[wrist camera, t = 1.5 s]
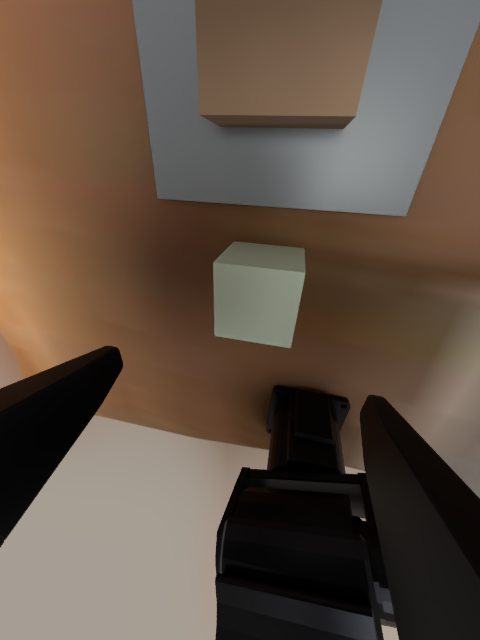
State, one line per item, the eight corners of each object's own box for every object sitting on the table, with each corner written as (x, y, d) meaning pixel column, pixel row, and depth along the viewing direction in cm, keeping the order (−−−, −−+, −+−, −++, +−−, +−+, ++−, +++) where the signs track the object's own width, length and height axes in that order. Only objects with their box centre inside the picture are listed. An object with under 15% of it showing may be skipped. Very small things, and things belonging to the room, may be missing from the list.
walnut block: (343, 129, 11) (356, 116, 9) (220, 126, 12) (199, 114, 10) (392, -100, 8) (434, -224, 5) (219, -78, 9) (188, -176, 6)
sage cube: (293, 310, 17) (290, 348, 14) (232, 301, 18) (214, 335, 14) (304, 247, 15) (305, 272, 11) (234, 240, 16) (213, 262, 12)
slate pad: (402, 215, 13) (405, 216, 12) (161, 197, 15) (157, 198, 15) (614, -355, 6) (638, -394, 5) (110, -229, 8) (99, -251, 8)
